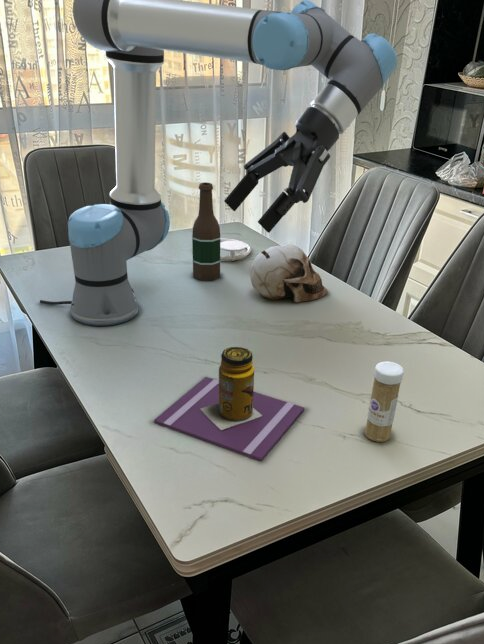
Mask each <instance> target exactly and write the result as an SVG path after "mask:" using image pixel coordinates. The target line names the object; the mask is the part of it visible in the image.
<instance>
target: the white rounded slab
mask: <svg viewBox="0 0 484 644" xmlns="http://www.w3.org/2000/svg"><path fill="white" fill-rule="evenodd" d="M245 249H247V250H246V251H244V252H243V253H240V254H237V255H236V252H241V251H243V250H245ZM220 250H223V251H226V252H229V255H220V261H230V262H234V261H236V260H240V259H243V258H246V257H247V256H249V254H251V252H252V248H251V246H250V245H249V244H248V243H246V242H244V241H242V240H238V239H233V238H222V237H220Z"/></svg>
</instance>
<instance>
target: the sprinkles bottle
mask: <svg viewBox="0 0 484 644" xmlns="http://www.w3.org/2000/svg"><path fill="white" fill-rule="evenodd" d="M404 372H405V370H404V368H403V366H402V365H400V364H399V363H396V362H393V361H387V360H386V361H380V362H378V363H377V364H375V367H374V372H373V383H372V384H373V385H372V389H371V394H370V401H369V405H368V410H367V418H366V425H365V428H364V435H365V436H366V438H367V439H369V440H371V441H373V442H377V443H379V442H381V443H382V442H386V441H388V440H389V439H390V438H391V436H392V428H393V423H394V419H395V416H396V415H395V414H396V409H397V406H398V405H397V404H398V399H399V393H400V389H401V388H400V387H401V383H402V381H403V379H404Z"/></svg>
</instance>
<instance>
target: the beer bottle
mask: <svg viewBox="0 0 484 644" xmlns="http://www.w3.org/2000/svg"><path fill="white" fill-rule="evenodd" d="M198 190H199V201H198V202H199V203H198V204H199V205H198V215H197V217H196V218H195V220H194V222H193V225H192V232H191V233H192V235H191V240H192V241H191V242H192V244H191V245H192V247H191V248H192V275H193V278H194V279H196V280H199V281H203V282H204V281H209V282H213V281H215V280H217V279H219V278H220V277H221V260H220V256H221V248H220V238H221V228H220V223H219V221H218V219H217V218H216V216H215V212H214V204H213V202H214V201H213V190H214V186H213V183H211V182H200V183H199V185H198Z"/></svg>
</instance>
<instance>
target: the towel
mask: <svg viewBox="0 0 484 644" xmlns="http://www.w3.org/2000/svg"><path fill="white" fill-rule="evenodd" d="M253 393H254V394H253V408H254V409H255V410H256V411H258V412H259V413H260V414H261V415H262V416H261V417H258V418H255V419H253V420H250V421H247V422H244V423H241V424H238V425H235V426H231V427H229V428H226V429H224V430H220V429H219V428H218V427H217V426H216V425H215V424H214V423H213V422H212V421H211V420H210V419H209V418H208V417H207V416H206V415H205V414H204V413H203V411H202V410H201V408H204V407H208V406H211V405H214V404H216V403H219V379H216V378H212V377H208V376H205V377H203V378H202V379H201V380H200V381H198V382H197V383H196V384H195V385H194V386H193V387H192V388H191V389H189V390H188V391H187V392H186V393H185V394H183V395H182V396H181V397H180V398H178V399H177V400H176V401H175V402H174V403H173V404H171V405H170V406H169V407H168V408H166V409H165V410H164V411H163V412H162V413H160V414H159V415H158V416H157V417H156V418H154V420H153V423H155V424H157V425H160V426H163V427H165V428H168V429H171V430H173V431H174V430H175V431H177V432H179V433H182V434H184V435H188V436H190V437H193V438H196V439H198V440H201V441H203V442H207V443H210V444H212V445H214V446H218V447H220V448H224V449H226V450H229V451H231V452H234V453H237V454H240V455H243V456H245V457H249V458H251V459H254V460H257V461H260V462H262V461H263V460H264V458H265V457H266V456H267V455H268V454H269V453H270V451H271V450H272V449H273V448H274V447H275V446H276V445H277V443H278V442H279V441H280V440H281V439H282V437H283V436H284V435H285V434H286V433H287V432H288V431H289V429H290V428H291V427H292V426H293V424H295V422H296V421H297V420H298V418H300V416H301V415H302V414H303V412H304V411H305V407H304V406H301V405H299V404H298V405H297V404H295V403H293V402H290V401H285V400H281V399H279V398H276V397H272V396H269V395H266V394H262V393H259V392H256V391H253Z"/></svg>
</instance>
